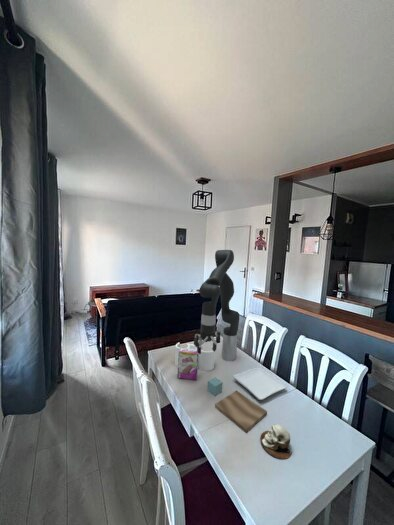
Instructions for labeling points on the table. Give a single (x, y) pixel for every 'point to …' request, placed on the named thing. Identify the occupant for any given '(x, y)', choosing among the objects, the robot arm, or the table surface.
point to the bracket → (199, 357)
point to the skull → (276, 442)
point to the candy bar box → (188, 363)
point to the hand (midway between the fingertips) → (206, 352)
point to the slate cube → (215, 386)
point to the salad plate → (259, 382)
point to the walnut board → (241, 410)
